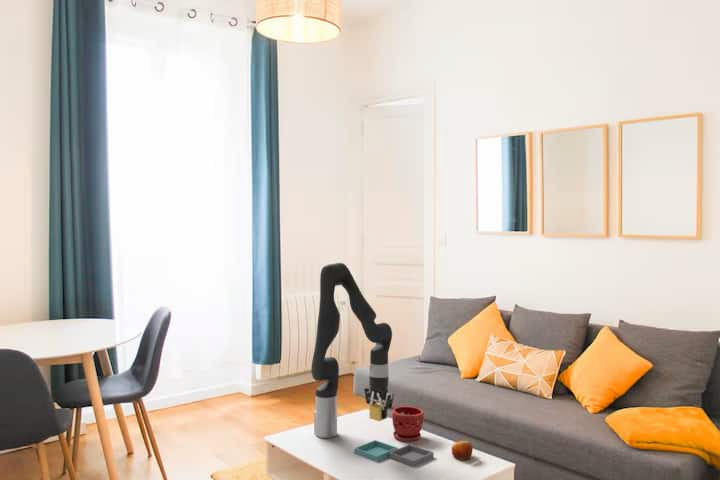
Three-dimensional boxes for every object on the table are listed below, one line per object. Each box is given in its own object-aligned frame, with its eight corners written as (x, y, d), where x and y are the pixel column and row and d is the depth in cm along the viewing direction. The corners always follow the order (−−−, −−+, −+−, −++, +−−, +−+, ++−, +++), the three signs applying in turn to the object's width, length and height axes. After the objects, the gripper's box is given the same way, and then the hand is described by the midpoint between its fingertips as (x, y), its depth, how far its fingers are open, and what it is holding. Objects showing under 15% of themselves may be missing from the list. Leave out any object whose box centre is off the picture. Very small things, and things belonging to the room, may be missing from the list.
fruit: (463, 461, 227) (456, 440, 230) (452, 466, 233) (446, 445, 236) (480, 457, 230) (473, 436, 234) (469, 462, 237) (462, 441, 240)
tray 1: (354, 454, 238) (354, 448, 238) (375, 445, 247) (375, 439, 247) (376, 462, 230) (376, 456, 230) (397, 453, 238) (397, 447, 238)
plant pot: (407, 446, 246) (406, 417, 246) (386, 437, 257) (385, 409, 256) (429, 439, 254) (429, 410, 254) (408, 430, 265) (408, 403, 264)
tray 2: (389, 458, 233) (388, 452, 233) (409, 450, 242) (409, 444, 242) (413, 467, 225) (413, 461, 225) (433, 458, 234) (433, 452, 234)
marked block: (369, 418, 238) (369, 405, 238) (378, 415, 242) (378, 402, 241) (379, 421, 235) (379, 408, 234) (387, 418, 238) (387, 405, 238)
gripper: (359, 372, 239) (358, 414, 240) (386, 379, 230) (386, 423, 230) (371, 369, 245) (371, 410, 246) (399, 375, 235) (398, 418, 236)
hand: (378, 416), depth 238 cm, fingers closed on marked block, 5 cm apart
